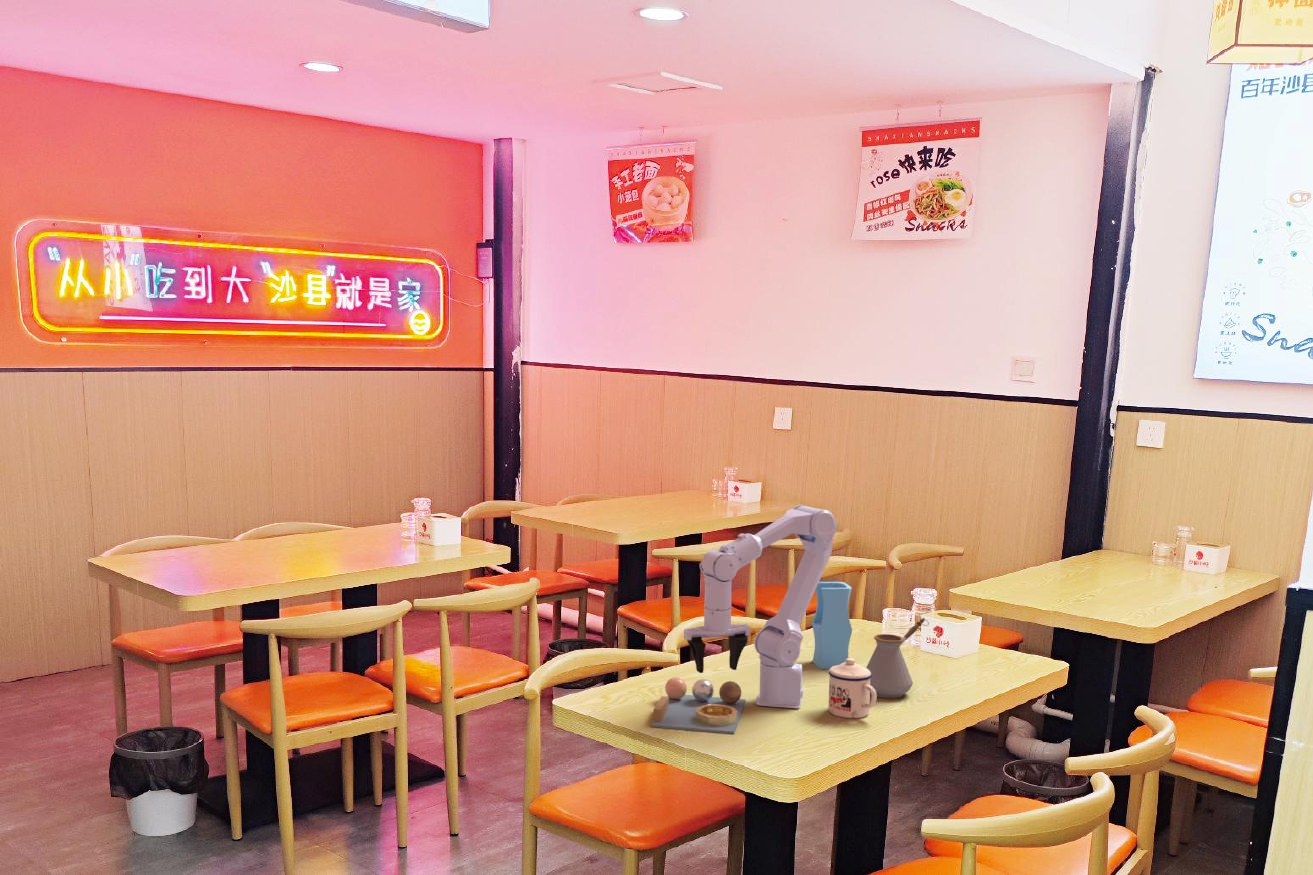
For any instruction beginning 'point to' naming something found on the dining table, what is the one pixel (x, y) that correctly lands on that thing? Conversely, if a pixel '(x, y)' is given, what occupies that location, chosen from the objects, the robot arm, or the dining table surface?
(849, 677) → the teacup with lid
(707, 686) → the silver steel ball
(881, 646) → the coffee pot
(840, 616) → the vase
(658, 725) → the slate mat
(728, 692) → the walnut ball
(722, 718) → the tan round shallow dish
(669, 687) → the terracotta ball
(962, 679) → the dining table surface
